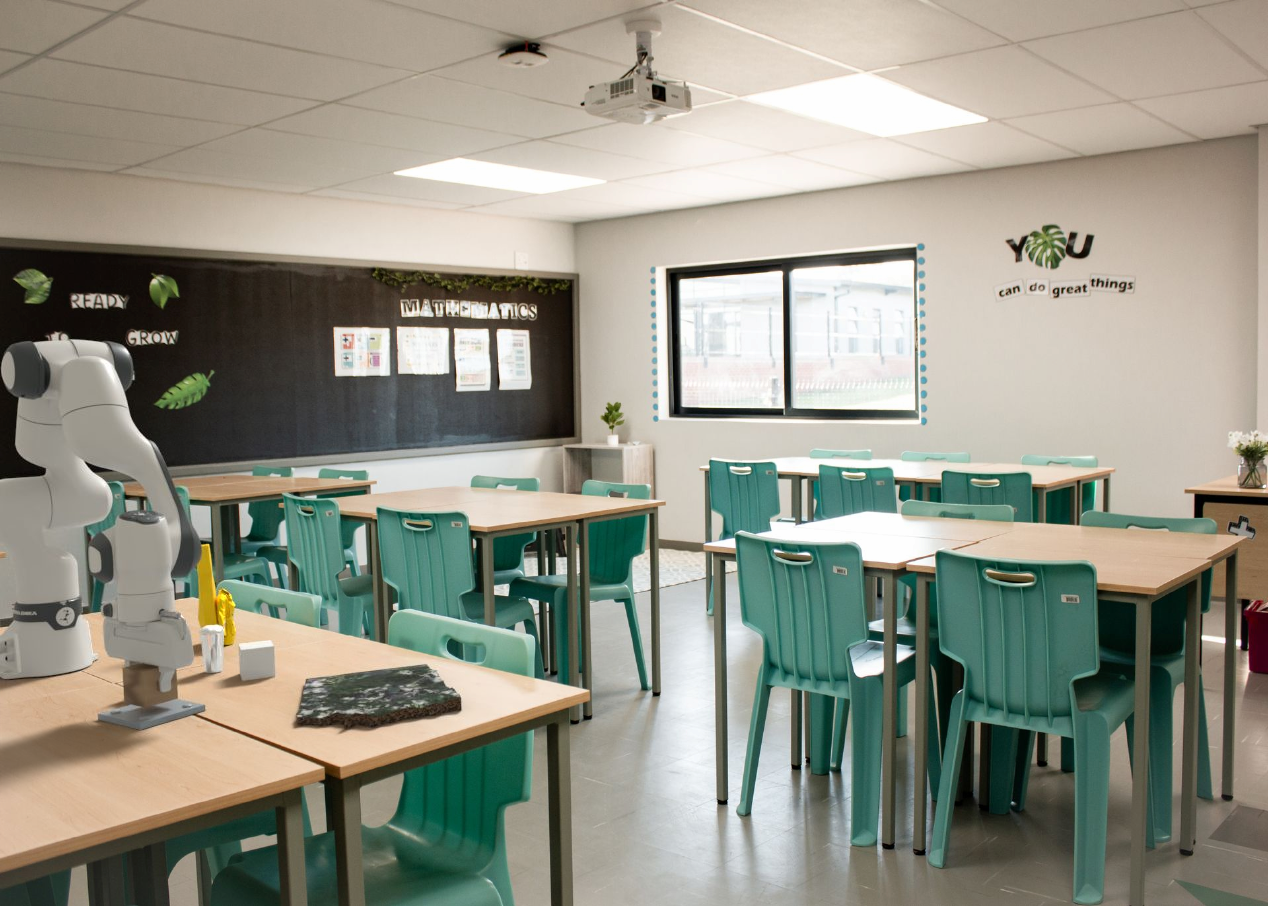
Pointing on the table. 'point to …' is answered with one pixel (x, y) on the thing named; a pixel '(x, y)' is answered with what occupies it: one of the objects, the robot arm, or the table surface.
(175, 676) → the block
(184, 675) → the table surface
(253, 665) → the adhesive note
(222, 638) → the milkshake
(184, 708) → the plate
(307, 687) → the topographical map
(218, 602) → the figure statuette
